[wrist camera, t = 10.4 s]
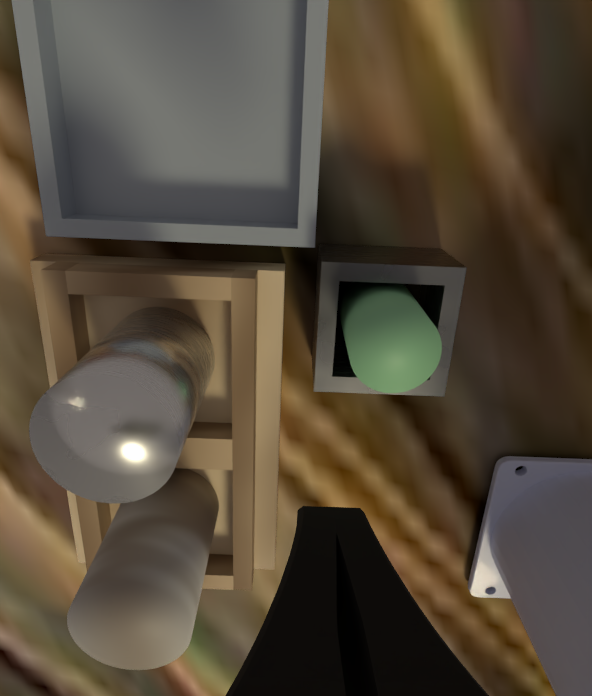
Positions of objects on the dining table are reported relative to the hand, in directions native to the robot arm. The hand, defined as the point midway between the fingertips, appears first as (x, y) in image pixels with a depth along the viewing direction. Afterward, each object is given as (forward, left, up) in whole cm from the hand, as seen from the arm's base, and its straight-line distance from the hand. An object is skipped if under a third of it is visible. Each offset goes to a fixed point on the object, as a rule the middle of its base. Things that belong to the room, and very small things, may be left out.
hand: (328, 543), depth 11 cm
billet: (+6, 0, -9) cm, 11 cm away
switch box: (-2, -2, -10) cm, 11 cm away
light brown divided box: (+6, +3, -10) cm, 12 cm away
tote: (+5, -9, -10) cm, 15 cm away
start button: (-2, -2, -10) cm, 10 cm away
